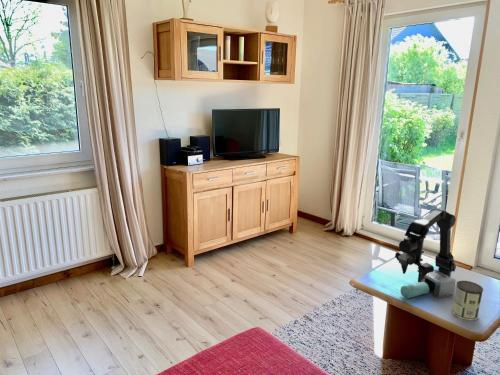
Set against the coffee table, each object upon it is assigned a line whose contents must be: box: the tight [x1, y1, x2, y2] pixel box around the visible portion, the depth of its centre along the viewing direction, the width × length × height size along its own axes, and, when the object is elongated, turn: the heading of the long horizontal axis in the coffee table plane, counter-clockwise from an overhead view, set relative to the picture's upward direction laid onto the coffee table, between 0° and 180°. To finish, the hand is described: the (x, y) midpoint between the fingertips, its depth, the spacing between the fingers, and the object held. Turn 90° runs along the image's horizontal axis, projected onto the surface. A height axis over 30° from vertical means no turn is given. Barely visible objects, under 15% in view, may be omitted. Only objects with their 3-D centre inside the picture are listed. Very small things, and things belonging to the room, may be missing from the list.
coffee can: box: [451, 280, 484, 321], centre depth 165 cm, size 10×10×14 cm
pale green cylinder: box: [400, 282, 429, 299], centre depth 180 cm, size 13×6×6 cm, turn 113°
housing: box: [419, 269, 457, 299], centre depth 186 cm, size 11×12×8 cm
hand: (411, 277), depth 177 cm, fingers open, 9 cm apart
